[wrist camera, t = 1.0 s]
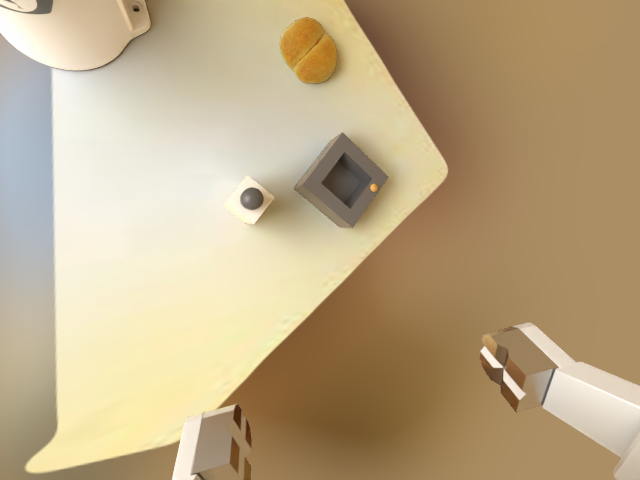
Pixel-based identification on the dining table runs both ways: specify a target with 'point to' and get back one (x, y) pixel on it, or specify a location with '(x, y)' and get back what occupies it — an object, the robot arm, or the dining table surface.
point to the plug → (248, 201)
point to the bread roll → (308, 50)
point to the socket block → (341, 182)
